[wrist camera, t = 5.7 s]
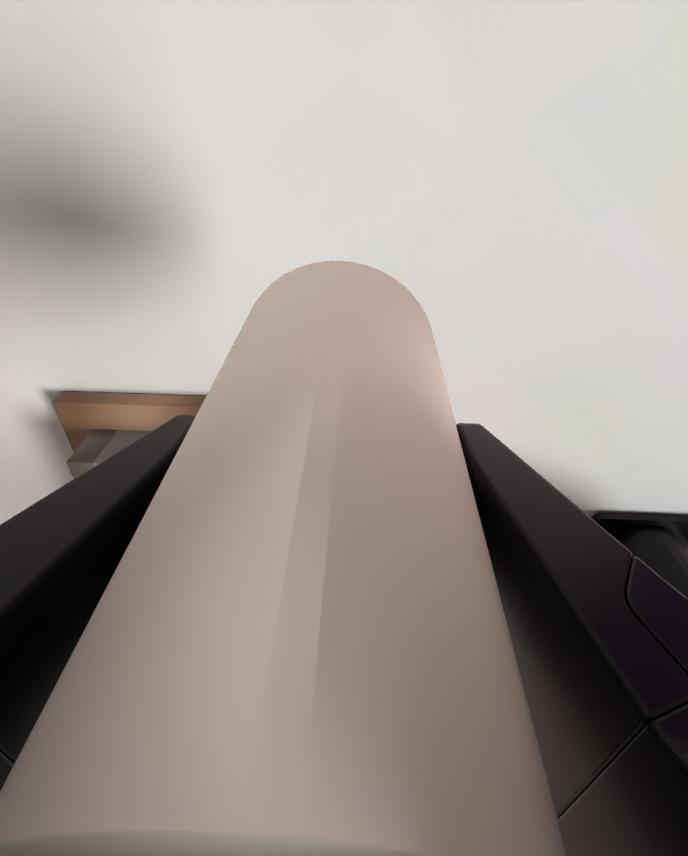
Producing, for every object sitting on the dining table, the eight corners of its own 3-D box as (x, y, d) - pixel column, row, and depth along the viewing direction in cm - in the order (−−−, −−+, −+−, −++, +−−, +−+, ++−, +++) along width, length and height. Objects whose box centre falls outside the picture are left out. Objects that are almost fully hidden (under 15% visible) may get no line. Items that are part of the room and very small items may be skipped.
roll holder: (307, 399, 22) (299, 444, 20) (314, 558, 29) (308, 607, 27) (63, 391, 23) (20, 434, 20) (128, 550, 30) (103, 598, 27)
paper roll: (447, 263, 9) (729, 906, 2) (422, 436, 12) (508, 989, 5) (231, 258, 10) (-235, 847, 2) (253, 429, 12) (77, 960, 5)
